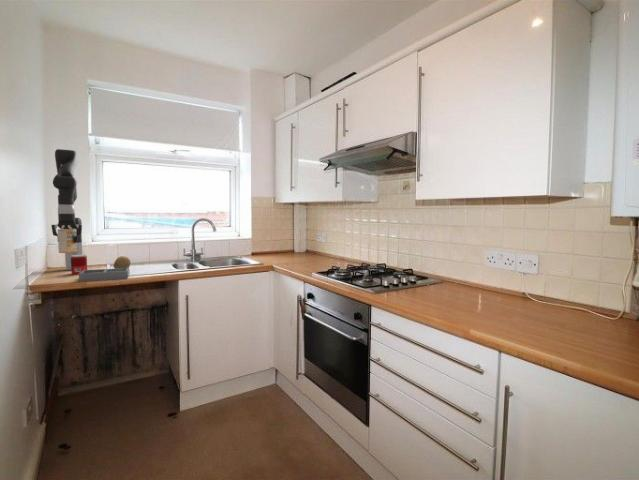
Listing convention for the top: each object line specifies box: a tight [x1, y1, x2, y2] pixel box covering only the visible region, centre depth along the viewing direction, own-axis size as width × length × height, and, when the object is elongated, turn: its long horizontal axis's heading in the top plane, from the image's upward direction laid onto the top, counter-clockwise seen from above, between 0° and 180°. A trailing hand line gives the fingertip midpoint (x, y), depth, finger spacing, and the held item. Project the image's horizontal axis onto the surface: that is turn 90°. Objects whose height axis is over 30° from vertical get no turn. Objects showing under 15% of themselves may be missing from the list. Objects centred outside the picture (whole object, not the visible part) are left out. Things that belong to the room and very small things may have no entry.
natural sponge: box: [113, 256, 131, 269], centre depth 217 cm, size 9×9×10 cm
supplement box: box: [57, 228, 77, 254], centre depth 195 cm, size 8×5×13 cm, turn 178°
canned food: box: [70, 254, 88, 276], centre depth 212 cm, size 8×8×11 cm
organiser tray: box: [78, 267, 130, 282], centre depth 199 cm, size 13×23×4 cm, turn 115°
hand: (67, 243), depth 195 cm, fingers closed on supplement box, 6 cm apart
